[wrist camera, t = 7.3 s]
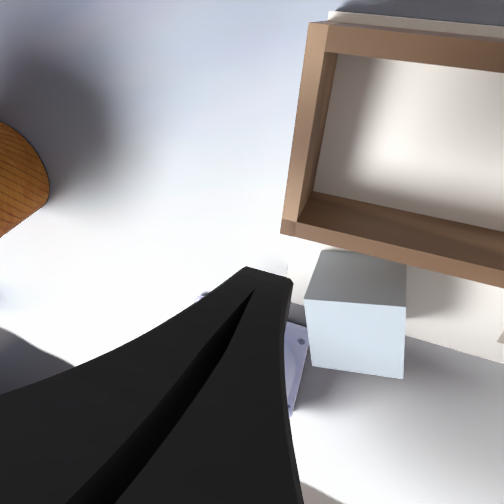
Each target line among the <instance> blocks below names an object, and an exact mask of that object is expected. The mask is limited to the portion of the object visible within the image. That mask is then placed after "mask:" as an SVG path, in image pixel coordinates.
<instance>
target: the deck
mask: <svg viewBox="0 0 504 504" xmlns="http://www.w3.org/2000/svg"><path fill="white" fill-rule="evenodd" d="M328 21H336V22H346V23H356V24H366V25H376V26H386V27H396V28H406V29H416V30H426V31H436V32H446V33H456V34H466V35H476V36H486V37H496V38H504V27H501V26H490V25H479V24H469V23H458V22H447V21H437V20H426V19H415V18H404V17H394V16H383V15H372V14H362V13H351V12H340V11H329V15H328ZM313 191H315V192H320V193H325V194H329V195H334V196H339V197H343V198H348V199H353V200H357V201H362V202H367V203H371V204H376V205H381V206H385V207H390V208H395V209H399V210H404V211H409V212H413V213H418V214H423V215H427V216H432V217H437V218H441V219H446V220H451V221H455V222H460V223H465V224H470V225H474V226H479V227H484V228H488V229H493V230H498V231H502V232H504V73H498V72H489V71H481V70H473V69H464V68H456V67H448V66H440V65H431V64H423V63H415V62H406V61H398V60H390V59H382V58H373V57H365V56H357V55H349V54H340V53H338V57H337V63H336V68H335V74H334V79H333V85H332V90H331V96H330V101H329V107H328V112H327V117H326V123H325V128H324V134H323V139H322V145H321V150H320V156H319V161H318V167H317V172H316V178H315V183H314V188H313ZM321 251H349V250H345V249H341V248H337V247H333V246H329V245H325V244H321V243H317V242H313V241H309V240H305V239H301V238H297V237H293V238H292V244H291V251H290V257H289V263H288V269H287V275H286V277H287V278H290V279H291V280H292V282H293V283H294V285H293V291H292V296H291V302H292V303H296V304H299V305H303V306H304V300H303V299H304V296H305V293H306V290H307V288H308V285H309V282H310V280H311V277H312V274H313V271H314V269H315V266H316V263H317V261H318V258H319V255H320V252H321ZM405 335H406V336H409V337H412V338H416V339H419V340H423V341H426V342H430V343H433V344H436V345H440V346H443V347H447V348H450V349H454V350H457V351H460V352H464V353H467V354H471V355H474V356H478V357H481V358H484V359H488V360H491V361H495V362H498V363H502V364H504V289H503V288H499V287H495V286H491V285H487V284H483V283H479V282H475V281H471V280H467V279H463V278H459V277H455V276H451V275H447V274H443V273H438V272H434V271H430V270H426V269H422V268H418V267H414V266H410V265H406V322H405Z"/></svg>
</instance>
